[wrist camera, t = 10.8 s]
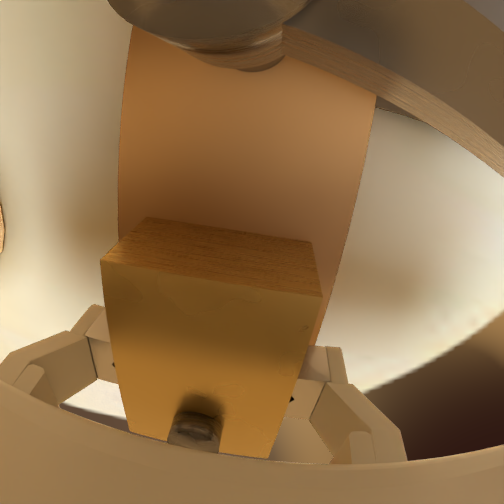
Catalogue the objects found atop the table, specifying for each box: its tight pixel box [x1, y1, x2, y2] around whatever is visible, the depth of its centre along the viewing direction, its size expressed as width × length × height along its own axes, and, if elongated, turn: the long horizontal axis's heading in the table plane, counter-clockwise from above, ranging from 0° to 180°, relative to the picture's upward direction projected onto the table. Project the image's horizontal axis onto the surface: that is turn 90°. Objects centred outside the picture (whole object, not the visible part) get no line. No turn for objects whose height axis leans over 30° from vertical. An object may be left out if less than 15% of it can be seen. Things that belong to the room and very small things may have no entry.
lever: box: [108, 0, 504, 177], centre depth 3 cm, size 10×3×4 cm, turn 70°
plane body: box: [118, 25, 377, 345], centre depth 10 cm, size 16×7×7 cm, turn 172°
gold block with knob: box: [100, 217, 323, 458], centre depth 9 cm, size 7×5×4 cm
